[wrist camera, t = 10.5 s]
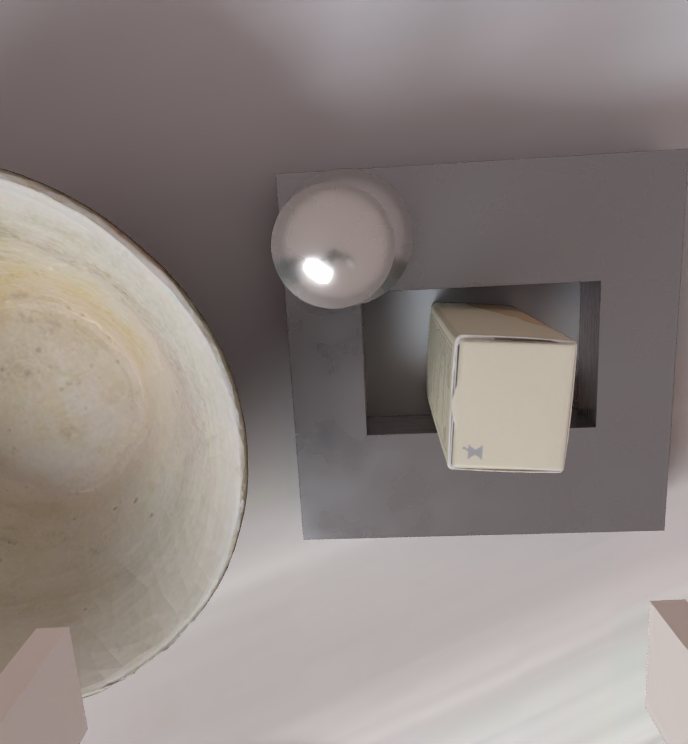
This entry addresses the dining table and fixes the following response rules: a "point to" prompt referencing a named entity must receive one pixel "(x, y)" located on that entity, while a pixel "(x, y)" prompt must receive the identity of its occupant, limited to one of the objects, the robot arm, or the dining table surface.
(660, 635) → the robot arm
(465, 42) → the dining table surface
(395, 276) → the round door knob
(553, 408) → the box
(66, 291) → the bowl
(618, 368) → the square recessed tray
